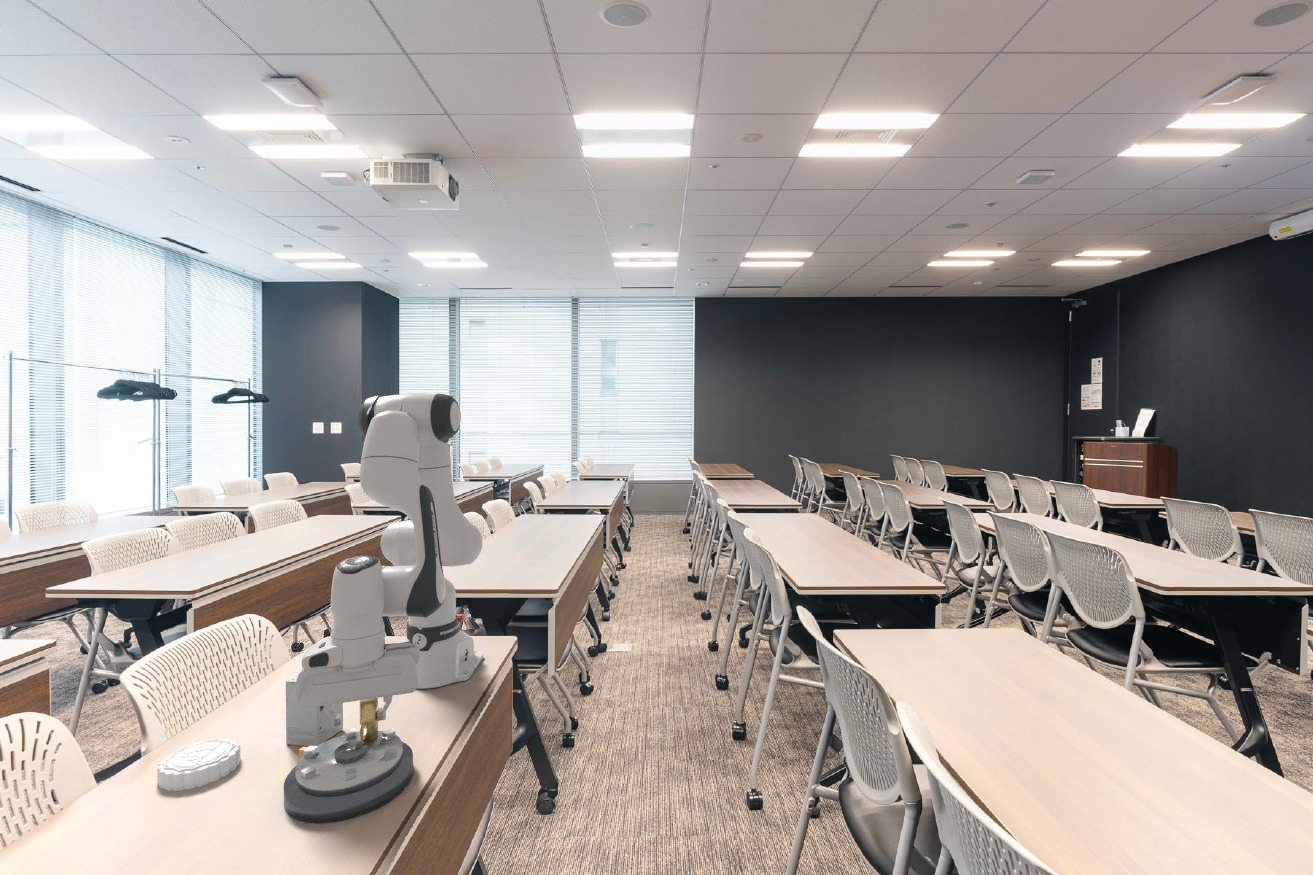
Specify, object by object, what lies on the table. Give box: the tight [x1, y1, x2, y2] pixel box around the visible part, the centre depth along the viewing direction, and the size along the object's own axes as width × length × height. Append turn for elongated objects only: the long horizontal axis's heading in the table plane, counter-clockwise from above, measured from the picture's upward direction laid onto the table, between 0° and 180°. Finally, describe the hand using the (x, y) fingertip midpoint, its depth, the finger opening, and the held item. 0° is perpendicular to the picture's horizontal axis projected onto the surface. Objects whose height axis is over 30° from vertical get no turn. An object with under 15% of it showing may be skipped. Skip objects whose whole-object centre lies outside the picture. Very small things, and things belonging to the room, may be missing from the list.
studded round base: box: [295, 698, 403, 796], centre depth 104 cm, size 17×17×9 cm
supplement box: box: [285, 675, 344, 747], centre depth 120 cm, size 7×7×13 cm
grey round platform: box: [283, 741, 414, 824], centre depth 104 cm, size 20×20×6 cm
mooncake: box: [156, 737, 241, 792], centre depth 108 cm, size 12×12×4 cm
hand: (358, 722), depth 109 cm, fingers open, 6 cm apart
